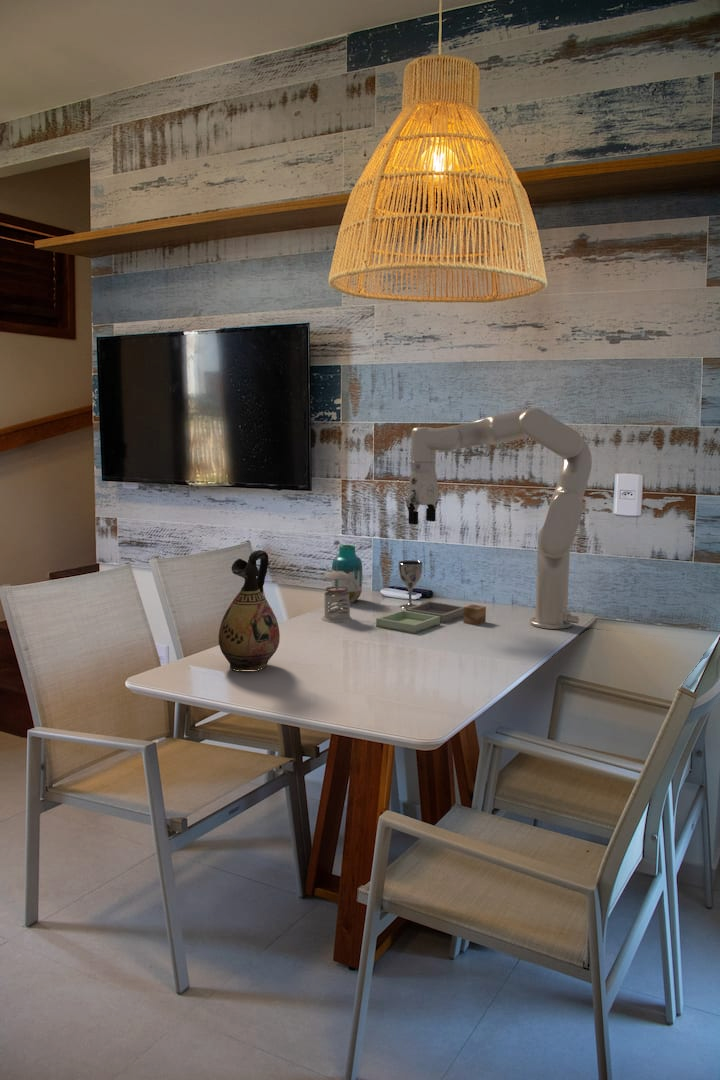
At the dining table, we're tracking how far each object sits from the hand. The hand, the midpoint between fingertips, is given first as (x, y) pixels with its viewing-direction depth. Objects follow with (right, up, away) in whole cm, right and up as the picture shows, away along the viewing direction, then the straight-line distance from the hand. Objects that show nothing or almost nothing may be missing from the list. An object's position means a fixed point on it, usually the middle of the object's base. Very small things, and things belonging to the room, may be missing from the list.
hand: (422, 522), depth 270 cm
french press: (-26, -30, +4) cm, 40 cm away
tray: (-5, -32, -5) cm, 32 cm away
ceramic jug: (-47, -38, -47) cm, 77 cm away
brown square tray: (+5, -30, +8) cm, 31 cm away
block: (+16, -31, 0) cm, 35 cm away
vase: (-24, -27, +29) cm, 46 cm away
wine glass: (-3, -28, +21) cm, 35 cm away
